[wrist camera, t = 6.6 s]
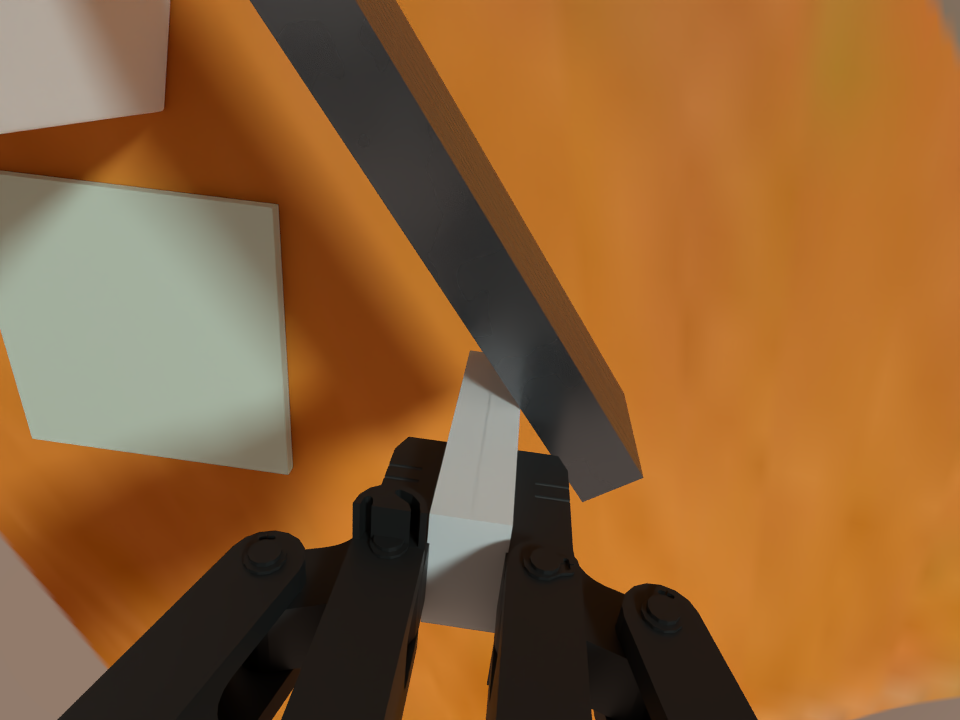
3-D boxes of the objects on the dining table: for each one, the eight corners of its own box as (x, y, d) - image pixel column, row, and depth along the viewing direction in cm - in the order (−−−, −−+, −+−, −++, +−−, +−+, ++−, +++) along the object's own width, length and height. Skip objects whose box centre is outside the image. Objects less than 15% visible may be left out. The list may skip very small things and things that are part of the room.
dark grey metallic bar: (-39, -528, 11) (-427, -916, 7) (49, -664, 10) (-326, -1206, 6) (560, 413, 19) (564, 523, 14) (637, 378, 18) (667, 483, 14)
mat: (-34, 166, 25) (-47, 168, 24) (278, 204, 24) (272, 207, 23) (41, 431, 30) (32, 438, 30) (292, 467, 30) (288, 474, 29)
